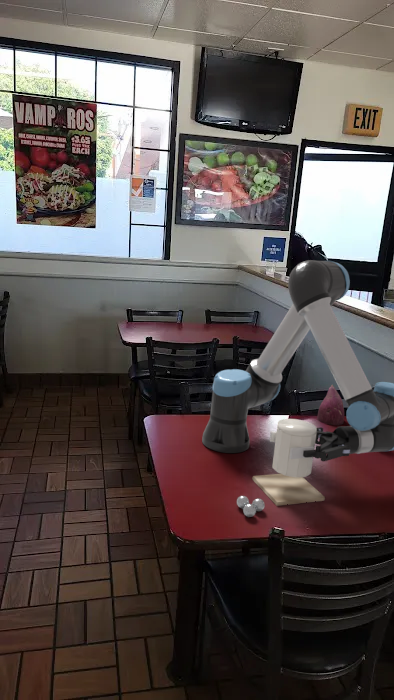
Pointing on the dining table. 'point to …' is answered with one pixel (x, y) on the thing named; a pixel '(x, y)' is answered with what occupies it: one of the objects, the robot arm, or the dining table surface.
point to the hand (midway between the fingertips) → (280, 444)
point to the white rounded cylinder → (290, 437)
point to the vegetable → (331, 408)
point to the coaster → (287, 489)
